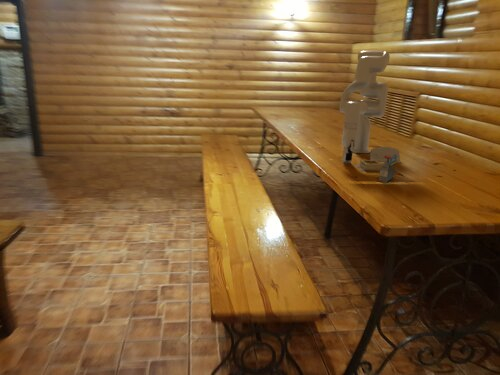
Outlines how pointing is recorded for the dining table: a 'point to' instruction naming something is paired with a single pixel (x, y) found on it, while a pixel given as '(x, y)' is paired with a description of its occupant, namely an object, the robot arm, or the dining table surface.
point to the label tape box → (387, 170)
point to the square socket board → (373, 164)
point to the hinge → (382, 151)
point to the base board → (364, 170)
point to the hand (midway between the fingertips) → (347, 158)
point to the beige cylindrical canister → (345, 156)
